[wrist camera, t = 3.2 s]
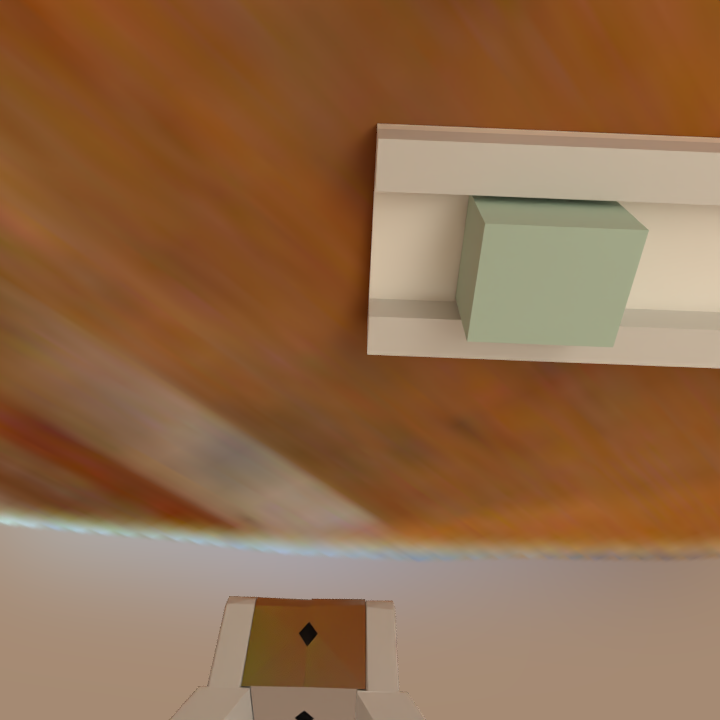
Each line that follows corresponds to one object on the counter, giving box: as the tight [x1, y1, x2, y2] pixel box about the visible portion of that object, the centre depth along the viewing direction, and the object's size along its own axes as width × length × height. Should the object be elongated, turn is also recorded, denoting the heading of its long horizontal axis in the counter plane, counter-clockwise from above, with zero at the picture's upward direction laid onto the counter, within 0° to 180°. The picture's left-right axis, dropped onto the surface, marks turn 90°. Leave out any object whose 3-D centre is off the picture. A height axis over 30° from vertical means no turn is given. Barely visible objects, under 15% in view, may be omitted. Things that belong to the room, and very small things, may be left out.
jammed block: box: [455, 195, 649, 347], centre depth 25 cm, size 6×5×4 cm
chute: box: [367, 123, 720, 368], centre depth 26 cm, size 26×10×3 cm, turn 88°
